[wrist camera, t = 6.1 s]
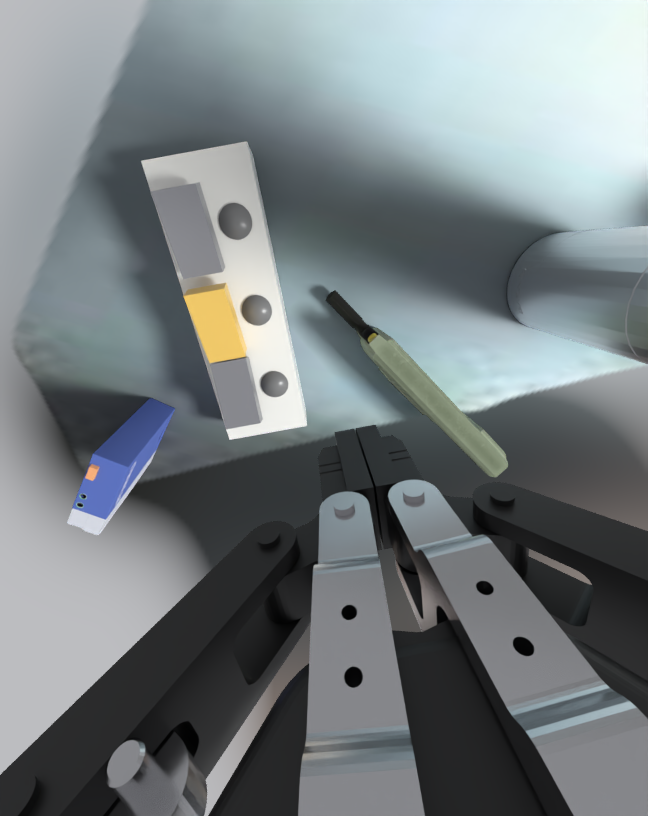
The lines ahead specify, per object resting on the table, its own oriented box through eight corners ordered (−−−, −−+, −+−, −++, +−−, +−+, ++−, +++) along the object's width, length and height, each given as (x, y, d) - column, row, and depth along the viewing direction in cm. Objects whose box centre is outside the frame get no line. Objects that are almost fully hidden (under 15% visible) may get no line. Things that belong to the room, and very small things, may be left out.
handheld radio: (460, 451, 43) (315, 306, 35) (481, 433, 43) (339, 281, 34) (489, 482, 37) (322, 315, 29) (515, 462, 36) (350, 284, 28)
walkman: (150, 397, 38) (89, 456, 27) (175, 408, 38) (126, 470, 27) (126, 453, 40) (62, 528, 29) (150, 463, 41) (96, 539, 30)
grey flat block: (199, 182, 26) (195, 183, 24) (225, 266, 29) (222, 272, 28) (156, 190, 26) (150, 191, 24) (187, 273, 29) (183, 279, 28)
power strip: (253, 155, 30) (246, 140, 26) (305, 409, 39) (306, 426, 36) (160, 172, 30) (140, 160, 26) (235, 422, 39) (229, 440, 36)
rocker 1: (226, 282, 28) (223, 288, 27) (246, 348, 32) (245, 356, 31) (187, 289, 28) (183, 296, 27) (212, 354, 32) (209, 363, 31)
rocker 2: (248, 356, 32) (245, 357, 31) (262, 419, 34) (260, 423, 32) (214, 363, 32) (209, 364, 31) (229, 425, 34) (225, 429, 32)
